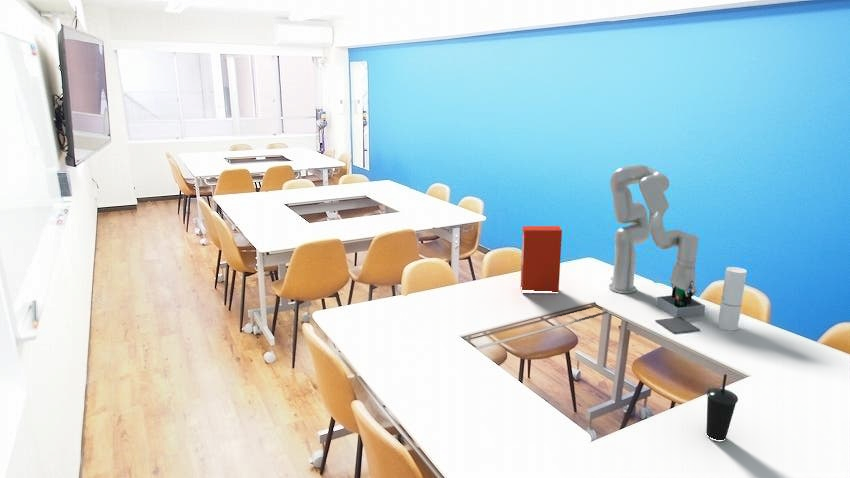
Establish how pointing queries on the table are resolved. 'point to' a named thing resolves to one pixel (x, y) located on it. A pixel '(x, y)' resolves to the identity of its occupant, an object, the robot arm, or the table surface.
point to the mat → (677, 325)
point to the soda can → (679, 298)
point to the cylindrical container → (731, 298)
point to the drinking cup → (719, 411)
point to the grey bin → (691, 310)
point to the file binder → (541, 258)
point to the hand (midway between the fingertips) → (681, 300)
